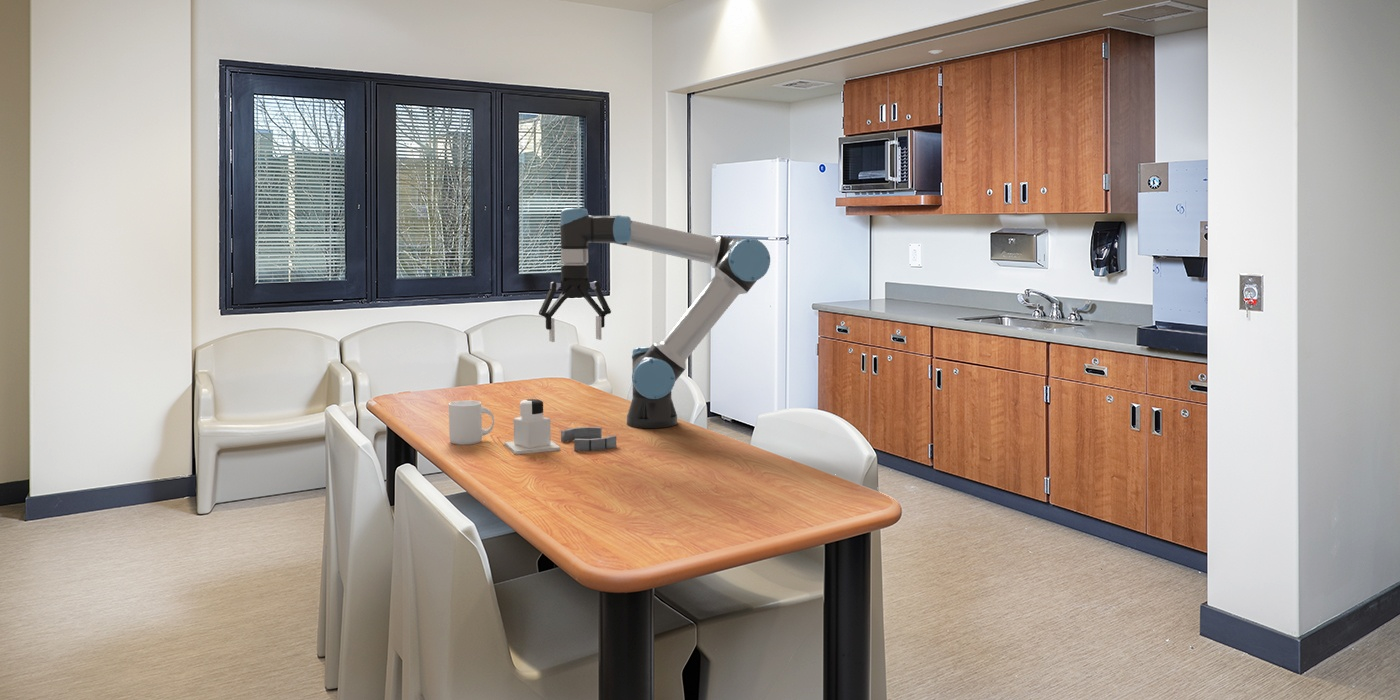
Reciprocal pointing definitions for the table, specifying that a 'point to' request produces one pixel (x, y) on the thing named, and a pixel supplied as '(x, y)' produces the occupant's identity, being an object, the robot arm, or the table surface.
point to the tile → (522, 450)
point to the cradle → (588, 444)
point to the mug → (467, 422)
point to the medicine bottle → (532, 425)
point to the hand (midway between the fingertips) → (575, 340)
